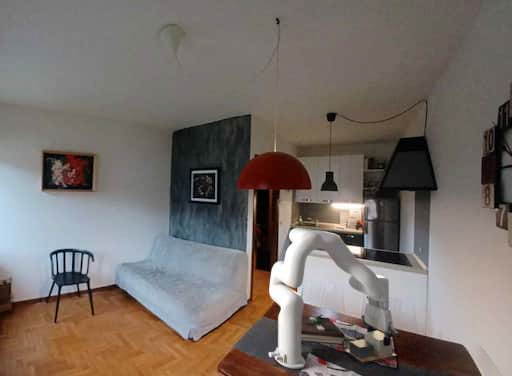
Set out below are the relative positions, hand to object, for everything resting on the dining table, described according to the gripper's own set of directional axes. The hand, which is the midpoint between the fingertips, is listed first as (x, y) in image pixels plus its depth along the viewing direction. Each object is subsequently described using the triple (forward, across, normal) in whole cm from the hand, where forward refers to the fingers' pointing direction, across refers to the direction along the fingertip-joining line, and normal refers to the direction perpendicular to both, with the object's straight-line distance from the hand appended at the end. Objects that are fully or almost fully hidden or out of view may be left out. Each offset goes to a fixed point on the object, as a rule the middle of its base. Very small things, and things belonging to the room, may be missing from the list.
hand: (378, 340), depth 122 cm
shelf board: (+6, 0, -5) cm, 8 cm away
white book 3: (+5, 0, 0) cm, 5 cm away
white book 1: (0, 0, 0) cm, 0 cm away
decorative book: (+6, -20, -20) cm, 29 cm away
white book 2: (+2, 0, 0) cm, 2 cm away
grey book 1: (+2, 0, -10) cm, 10 cm away
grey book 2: (+5, 0, -10) cm, 11 cm away
